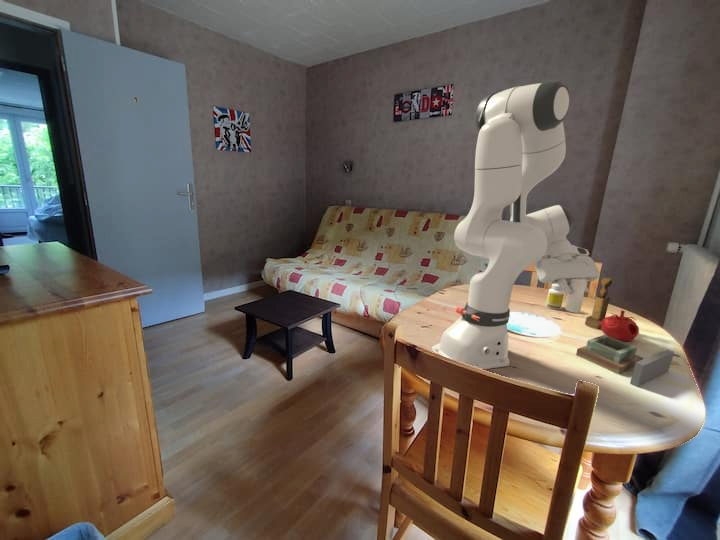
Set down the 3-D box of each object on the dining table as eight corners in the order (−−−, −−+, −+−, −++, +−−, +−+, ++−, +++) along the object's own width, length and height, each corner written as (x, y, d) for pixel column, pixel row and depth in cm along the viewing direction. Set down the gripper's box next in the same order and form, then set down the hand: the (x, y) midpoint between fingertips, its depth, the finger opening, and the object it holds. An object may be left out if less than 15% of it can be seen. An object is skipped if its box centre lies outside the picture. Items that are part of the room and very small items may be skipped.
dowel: (575, 313, 98) (581, 282, 96) (562, 308, 102) (568, 278, 99) (582, 311, 100) (589, 281, 97) (569, 307, 103) (576, 277, 101)
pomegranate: (597, 338, 106) (602, 312, 103) (600, 328, 113) (605, 303, 111) (636, 347, 100) (643, 319, 97) (636, 336, 107) (642, 310, 105)
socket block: (618, 374, 85) (622, 357, 84) (576, 354, 94) (579, 339, 93) (641, 364, 90) (646, 348, 89) (599, 346, 100) (602, 332, 98)
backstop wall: (637, 386, 80) (643, 365, 78) (629, 383, 81) (635, 362, 79) (668, 371, 86) (674, 352, 85) (660, 368, 88) (666, 349, 86)
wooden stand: (586, 327, 113) (597, 279, 108) (583, 320, 119) (593, 274, 114) (609, 331, 110) (621, 281, 106) (605, 324, 116) (616, 277, 111)
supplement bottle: (563, 310, 128) (567, 287, 126) (548, 309, 129) (552, 286, 127) (557, 305, 134) (562, 283, 131) (543, 304, 135) (547, 282, 132)
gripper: (537, 250, 101) (556, 290, 94) (591, 249, 105) (613, 287, 98) (525, 261, 106) (542, 299, 99) (577, 259, 110) (597, 296, 103)
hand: (578, 293), depth 99 cm, fingers closed on dowel, 4 cm apart
